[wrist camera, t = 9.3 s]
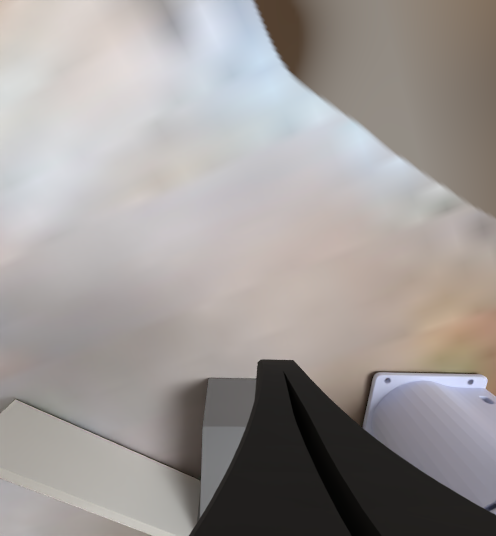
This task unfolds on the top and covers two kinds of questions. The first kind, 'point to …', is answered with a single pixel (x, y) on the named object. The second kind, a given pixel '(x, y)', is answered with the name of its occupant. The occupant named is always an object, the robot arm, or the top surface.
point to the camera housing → (223, 429)
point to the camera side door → (95, 473)
